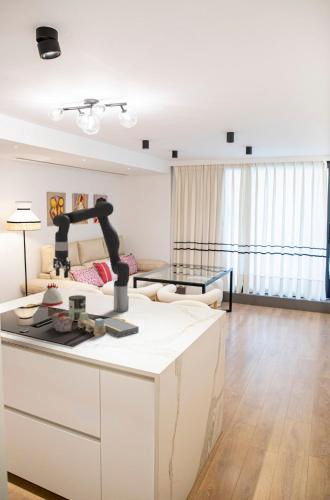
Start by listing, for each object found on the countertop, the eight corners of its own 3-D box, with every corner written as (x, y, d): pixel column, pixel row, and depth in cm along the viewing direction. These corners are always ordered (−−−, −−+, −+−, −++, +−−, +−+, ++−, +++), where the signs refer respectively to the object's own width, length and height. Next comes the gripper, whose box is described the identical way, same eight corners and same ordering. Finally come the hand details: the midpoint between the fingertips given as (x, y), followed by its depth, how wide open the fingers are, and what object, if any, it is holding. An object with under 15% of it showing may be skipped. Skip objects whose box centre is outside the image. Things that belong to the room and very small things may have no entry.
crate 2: (100, 324, 203) (100, 318, 202) (103, 325, 200) (103, 319, 200) (94, 325, 200) (94, 319, 200) (98, 327, 198) (98, 320, 198)
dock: (113, 321, 224) (113, 316, 224) (138, 331, 207) (138, 326, 207) (95, 325, 215) (95, 320, 215) (119, 336, 198) (119, 331, 198)
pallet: (86, 325, 216) (86, 317, 215) (105, 334, 201) (105, 325, 201) (77, 327, 212) (77, 319, 211) (97, 336, 198) (97, 327, 197)
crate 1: (84, 317, 214) (84, 311, 214) (88, 319, 212) (88, 313, 211) (79, 318, 212) (79, 312, 212) (82, 320, 209) (82, 314, 209)
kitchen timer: (41, 301, 267) (41, 281, 266) (60, 300, 273) (60, 280, 272) (43, 306, 255) (43, 285, 253) (64, 304, 261) (63, 284, 259)
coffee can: (88, 317, 231) (88, 295, 230) (81, 322, 221) (81, 299, 220) (73, 316, 233) (73, 294, 232) (65, 321, 223) (65, 298, 222)
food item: (73, 331, 205) (73, 314, 204) (60, 334, 200) (60, 317, 198) (62, 325, 215) (62, 309, 214) (49, 328, 209) (49, 311, 208)
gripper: (74, 250, 211) (74, 277, 213) (60, 247, 221) (60, 274, 223) (62, 251, 206) (63, 279, 208) (49, 248, 215) (49, 276, 217)
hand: (61, 276), depth 215 cm, fingers open, 8 cm apart
